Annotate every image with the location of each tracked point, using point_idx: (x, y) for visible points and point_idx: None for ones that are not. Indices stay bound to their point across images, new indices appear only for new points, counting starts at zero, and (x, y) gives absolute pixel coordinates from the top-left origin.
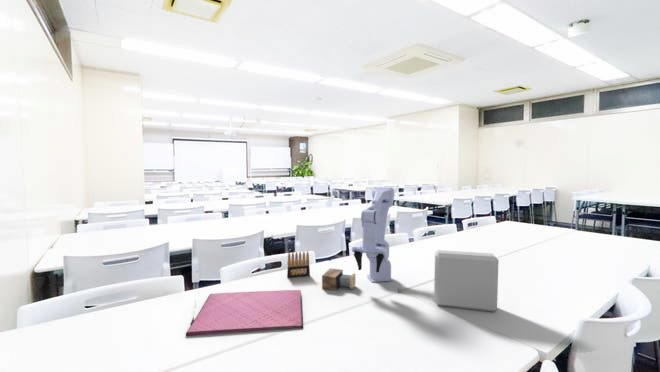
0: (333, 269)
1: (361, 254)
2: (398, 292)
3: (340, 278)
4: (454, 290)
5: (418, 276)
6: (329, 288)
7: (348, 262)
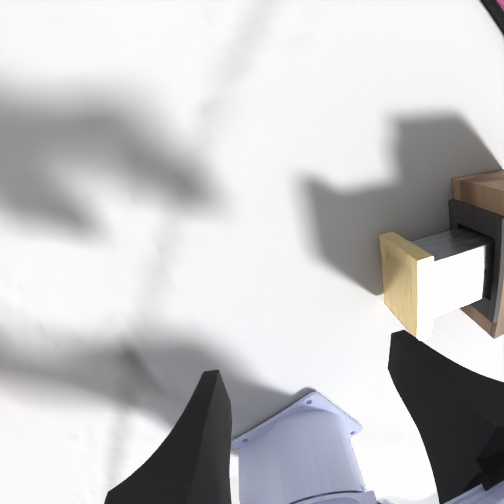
0: None
1: (447, 480)
2: (129, 348)
3: (478, 242)
4: None
5: None
6: (481, 175)
7: None
